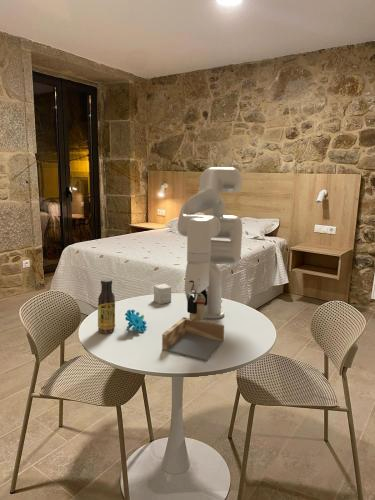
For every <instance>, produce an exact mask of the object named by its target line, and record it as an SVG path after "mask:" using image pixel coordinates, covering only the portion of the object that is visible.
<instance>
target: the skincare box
mask: <svg viewBox="0 0 375 500" xmlns="http://www.w3.org/2000/svg"><path fill="white" fill-rule="evenodd" d="M153 300H154V301H153V302H156V303H158V304H159V305H163V304H167V303H172V286H170V285H168V284H167V283H161V284H155V285H153Z"/></svg>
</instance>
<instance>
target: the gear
mask: <svg viewBox="0 0 375 500" xmlns="http://www.w3.org/2000/svg"><path fill="white" fill-rule="evenodd" d="M124 315H125V316H126V317H124V318H125V321H128V323H127V324H128V326H126V329H127V330H129V329H130V328H131V329H132V330H133V331H135V330H136V332H137V333H139V334H140V333H144V332H145V331H146V330H147V328H148V327H147V321H145V320H144V318H145V315H144V314H141V315H140V312H139V311H137V312H136V310H135V309H132V310H131V309H128V310H127V311H126V312H125V314H124Z"/></svg>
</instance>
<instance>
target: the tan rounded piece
mask: <svg viewBox="0 0 375 500" xmlns="http://www.w3.org/2000/svg"><path fill="white" fill-rule="evenodd" d="M194 292H196V291H194ZM194 295H195V294H193V296H194ZM196 302H197V313H196V314H193V313H189V317H188V318H190V320H192V321H198V320H200V321H202V319H203V318H204V309H205V297H204V295H203V294H202V293H201V292H200V293H199V294H198V295H197V299H196Z"/></svg>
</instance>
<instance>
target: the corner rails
mask: <svg viewBox="0 0 375 500" xmlns="http://www.w3.org/2000/svg"><path fill="white" fill-rule="evenodd" d="M184 333H189V334H193V335H198V336H202V337H207V338H211V339H215V340H220V341H223V342H224V339H225V338H224V337H225V336H224V335H225V325H222V324H218V323H213V322H209V321H203V320H198V321H192V320H190V317H185V316H183V317H181V318H180V319H179V320H178V321H177V322H176V323H174V324H173V325H172V326H170V327H169V328H168V329H167V330H165V331H164V332H163V333H162V334H161V336H162V338H161V341H162V343H161V351H163V352H166V349H168V348H169V347H170V346H171V345H172V344H173V343H174V342H175V341H177V340H178V339H179V338H180V337H181V336H182V335H183V334H184Z"/></svg>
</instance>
